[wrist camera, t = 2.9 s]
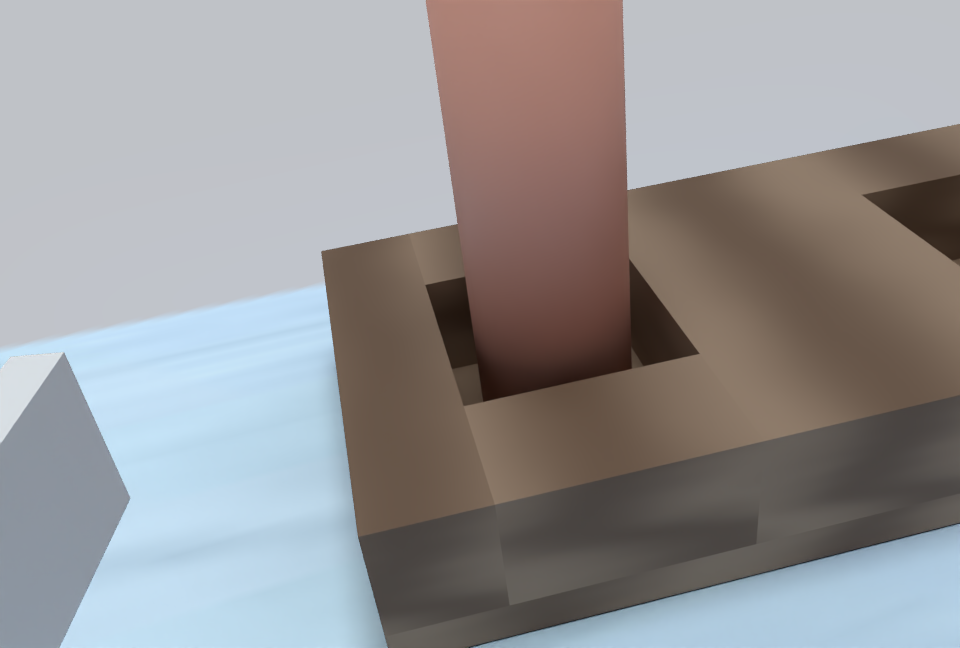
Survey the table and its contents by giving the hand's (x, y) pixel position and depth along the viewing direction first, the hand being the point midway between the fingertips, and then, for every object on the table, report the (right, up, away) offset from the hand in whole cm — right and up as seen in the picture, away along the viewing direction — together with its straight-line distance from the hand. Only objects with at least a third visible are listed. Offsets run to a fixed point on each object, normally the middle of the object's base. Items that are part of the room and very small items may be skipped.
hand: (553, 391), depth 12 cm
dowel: (+1, -1, +12) cm, 12 cm away
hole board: (+8, -1, +13) cm, 15 cm away
